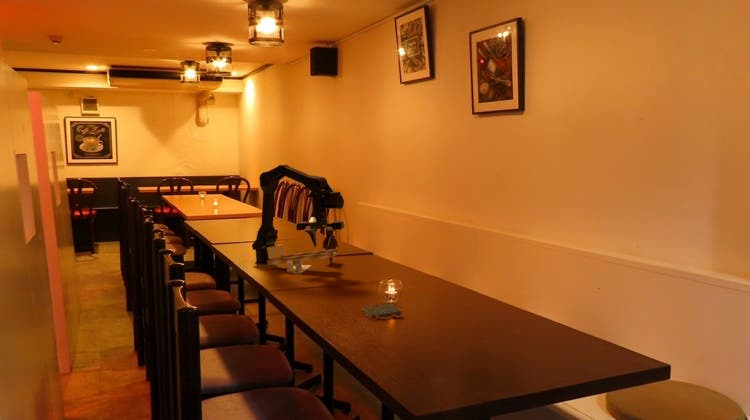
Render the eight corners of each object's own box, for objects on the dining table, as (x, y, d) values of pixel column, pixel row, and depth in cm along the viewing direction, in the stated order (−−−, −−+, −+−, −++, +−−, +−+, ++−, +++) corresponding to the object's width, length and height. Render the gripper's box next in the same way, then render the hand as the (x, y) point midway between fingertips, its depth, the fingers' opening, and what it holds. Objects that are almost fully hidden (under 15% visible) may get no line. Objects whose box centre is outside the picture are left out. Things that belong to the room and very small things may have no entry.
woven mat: (370, 322, 170) (370, 315, 169) (360, 312, 180) (360, 306, 179) (404, 317, 173) (404, 310, 172) (393, 308, 183) (392, 301, 182)
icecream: (341, 262, 256) (340, 228, 254) (326, 264, 253) (324, 229, 251) (335, 259, 262) (333, 226, 260) (320, 261, 259) (318, 228, 257)
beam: (267, 265, 239) (266, 260, 239) (274, 261, 247) (273, 256, 247) (333, 257, 234) (332, 252, 234) (338, 253, 242) (337, 248, 242)
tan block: (269, 261, 240) (266, 247, 240) (273, 259, 245) (271, 245, 245) (280, 260, 239) (278, 246, 239) (284, 258, 244) (282, 243, 244)
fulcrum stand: (276, 275, 235) (275, 263, 234) (289, 267, 250) (288, 255, 250) (300, 275, 233) (299, 263, 232) (311, 266, 249) (310, 255, 248)
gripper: (291, 211, 230) (293, 250, 232) (337, 210, 227) (339, 250, 229) (299, 208, 241) (301, 245, 243) (343, 207, 238) (345, 245, 240)
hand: (321, 246), depth 238 cm, fingers open, 5 cm apart
